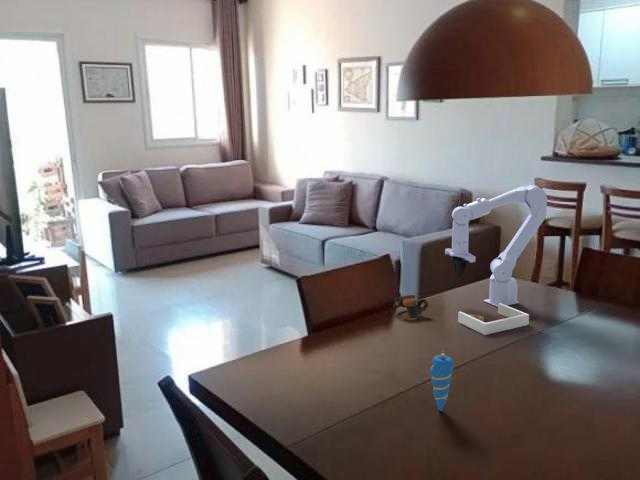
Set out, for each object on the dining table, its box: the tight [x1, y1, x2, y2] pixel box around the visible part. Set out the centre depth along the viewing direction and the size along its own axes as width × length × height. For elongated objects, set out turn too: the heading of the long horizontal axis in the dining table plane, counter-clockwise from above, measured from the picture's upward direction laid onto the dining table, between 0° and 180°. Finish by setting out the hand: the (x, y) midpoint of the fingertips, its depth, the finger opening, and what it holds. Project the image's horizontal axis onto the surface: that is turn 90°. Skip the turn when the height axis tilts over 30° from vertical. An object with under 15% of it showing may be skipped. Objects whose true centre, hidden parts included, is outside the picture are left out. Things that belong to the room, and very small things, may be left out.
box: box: [457, 303, 530, 336], centre depth 186 cm, size 18×13×4 cm
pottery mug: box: [392, 294, 430, 320], centre depth 196 cm, size 12×10×8 cm
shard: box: [466, 313, 485, 322], centre depth 187 cm, size 11×8×2 cm
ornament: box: [429, 350, 455, 412], centre depth 131 cm, size 5×5×15 cm
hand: (459, 277), depth 206 cm, fingers closed
